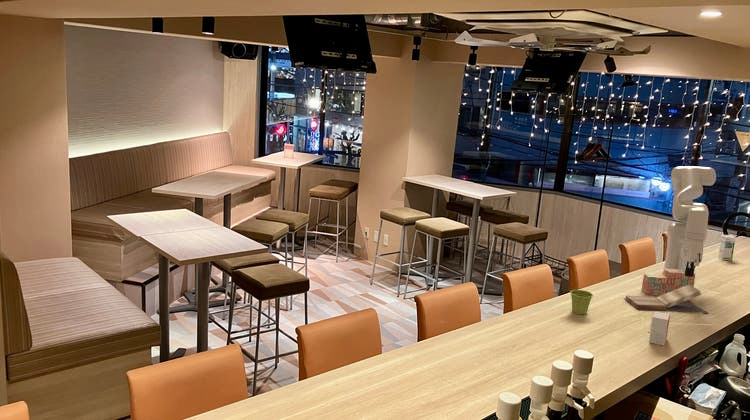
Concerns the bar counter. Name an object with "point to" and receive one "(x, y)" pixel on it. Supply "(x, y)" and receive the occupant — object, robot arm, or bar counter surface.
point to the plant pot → (580, 301)
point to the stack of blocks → (666, 281)
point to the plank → (679, 295)
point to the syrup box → (726, 247)
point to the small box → (659, 328)
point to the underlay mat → (680, 308)
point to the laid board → (646, 302)
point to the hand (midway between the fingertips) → (688, 276)
